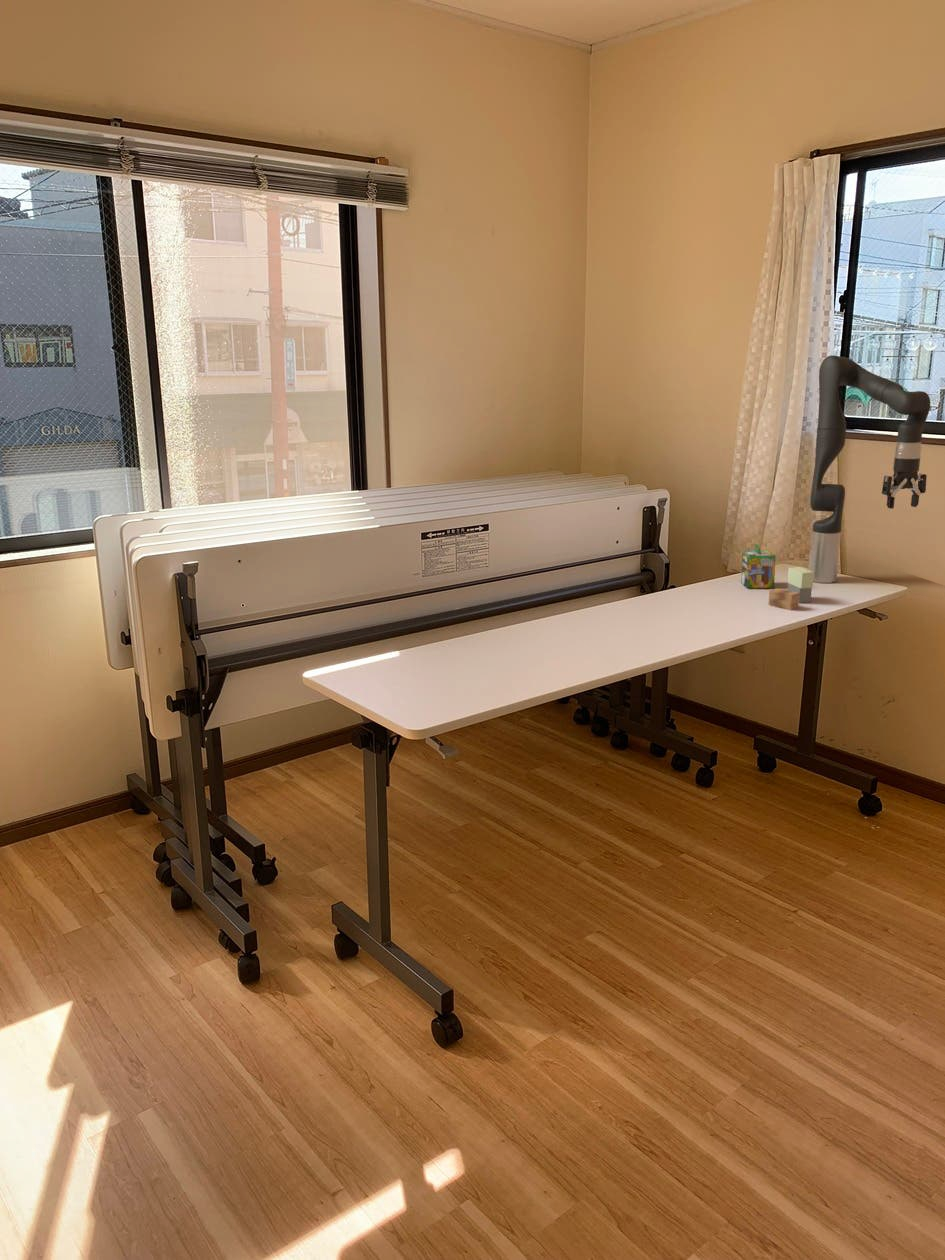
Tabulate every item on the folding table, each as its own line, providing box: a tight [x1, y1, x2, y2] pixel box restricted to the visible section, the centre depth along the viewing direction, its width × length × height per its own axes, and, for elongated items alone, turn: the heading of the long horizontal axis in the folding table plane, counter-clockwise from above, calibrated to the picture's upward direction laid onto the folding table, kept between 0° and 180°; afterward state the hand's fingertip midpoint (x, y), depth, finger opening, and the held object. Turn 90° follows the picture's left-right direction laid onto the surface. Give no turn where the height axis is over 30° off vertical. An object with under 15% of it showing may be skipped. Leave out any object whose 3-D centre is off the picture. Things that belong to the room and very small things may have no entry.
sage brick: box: [787, 566, 814, 589], centre depth 313 cm, size 8×4×5 cm, turn 14°
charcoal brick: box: [787, 582, 813, 604], centre depth 315 cm, size 8×4×5 cm, turn 9°
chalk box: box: [740, 541, 777, 590], centre depth 332 cm, size 9×9×15 cm
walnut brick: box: [768, 588, 800, 611], centre depth 307 cm, size 8×4×5 cm, turn 39°
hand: (902, 507), depth 314 cm, fingers open, 8 cm apart
